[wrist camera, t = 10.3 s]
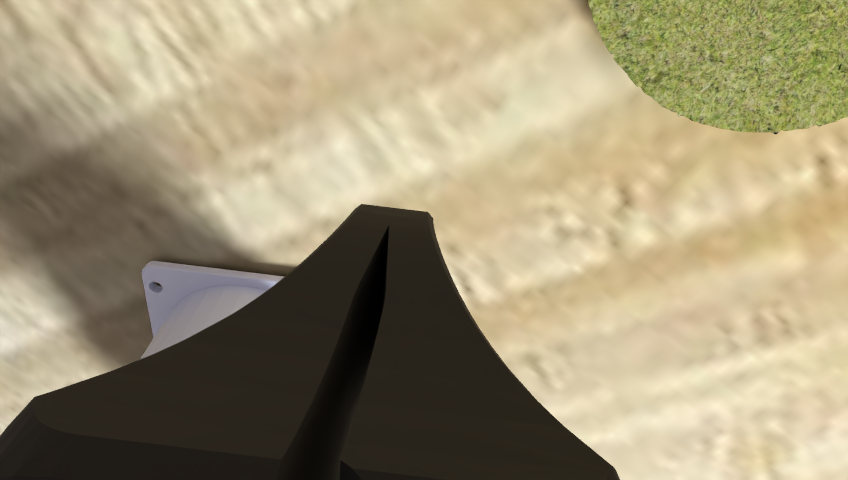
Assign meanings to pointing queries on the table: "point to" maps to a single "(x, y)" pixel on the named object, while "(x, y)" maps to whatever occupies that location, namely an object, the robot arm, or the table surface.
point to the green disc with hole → (734, 58)
